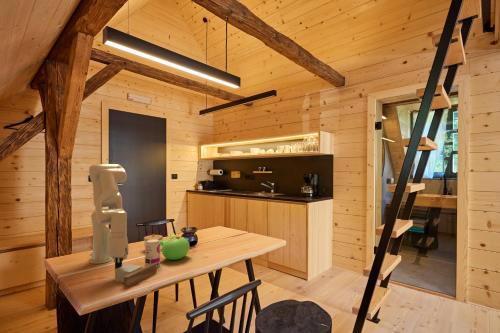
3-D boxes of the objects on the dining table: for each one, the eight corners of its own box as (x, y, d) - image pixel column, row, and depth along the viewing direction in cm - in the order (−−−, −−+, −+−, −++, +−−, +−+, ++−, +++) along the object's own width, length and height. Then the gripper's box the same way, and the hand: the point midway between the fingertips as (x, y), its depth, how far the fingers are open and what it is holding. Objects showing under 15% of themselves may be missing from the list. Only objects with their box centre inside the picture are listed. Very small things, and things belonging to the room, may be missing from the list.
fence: (123, 286, 129) (124, 276, 129) (152, 272, 148) (152, 263, 148) (127, 287, 129) (128, 277, 129) (156, 272, 147) (156, 263, 147)
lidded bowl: (165, 247, 193) (165, 232, 193) (157, 253, 181) (158, 236, 181) (148, 247, 195) (149, 231, 195) (140, 252, 182) (140, 236, 182)
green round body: (176, 265, 159) (176, 240, 159) (154, 260, 166) (154, 237, 166) (194, 256, 175) (194, 233, 175) (174, 252, 182) (174, 231, 182)
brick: (114, 280, 137) (115, 269, 137) (127, 275, 144) (127, 263, 144) (130, 284, 133) (130, 272, 133) (141, 277, 141) (141, 266, 141)
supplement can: (161, 263, 161) (161, 238, 161) (157, 268, 153) (157, 242, 153) (148, 263, 161) (148, 238, 161) (143, 268, 153) (143, 242, 153)
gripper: (102, 234, 140) (101, 269, 140) (123, 237, 135) (123, 273, 135) (114, 231, 147) (113, 264, 147) (135, 234, 142) (134, 268, 142)
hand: (118, 269), depth 141 cm, fingers closed
